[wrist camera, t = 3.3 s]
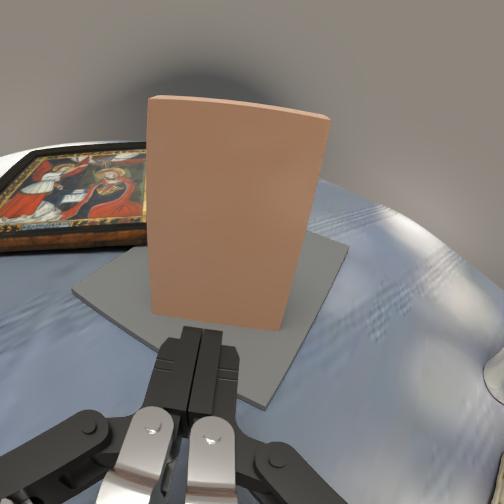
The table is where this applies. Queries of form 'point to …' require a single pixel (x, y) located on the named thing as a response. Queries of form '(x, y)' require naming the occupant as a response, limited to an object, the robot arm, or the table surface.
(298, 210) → the tile
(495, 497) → the storage basket
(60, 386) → the table surface
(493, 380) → the beer glass
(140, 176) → the religious icon
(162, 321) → the mat
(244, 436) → the robot arm
